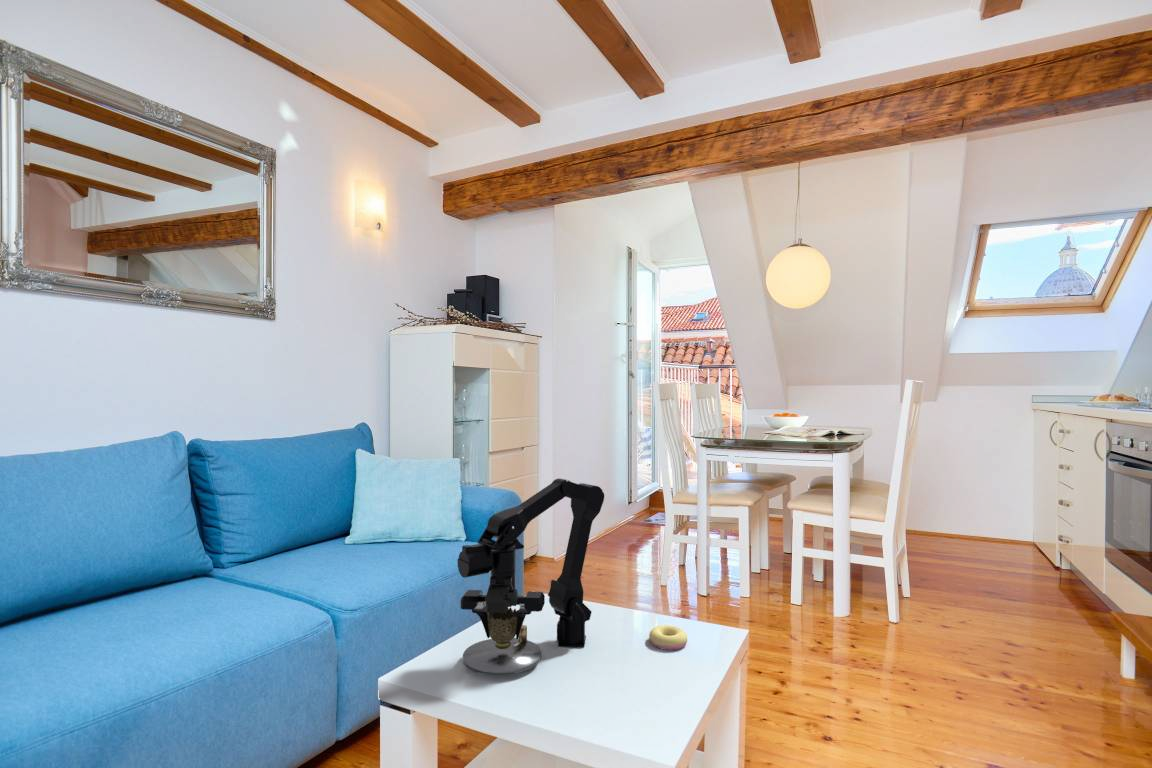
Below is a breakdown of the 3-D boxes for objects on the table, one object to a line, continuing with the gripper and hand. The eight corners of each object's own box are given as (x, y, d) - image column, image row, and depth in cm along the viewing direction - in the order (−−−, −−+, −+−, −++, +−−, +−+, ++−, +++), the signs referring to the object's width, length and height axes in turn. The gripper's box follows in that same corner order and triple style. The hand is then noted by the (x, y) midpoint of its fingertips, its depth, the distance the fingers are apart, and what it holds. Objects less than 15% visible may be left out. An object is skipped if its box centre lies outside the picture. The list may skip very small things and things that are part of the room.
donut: (653, 660, 145) (691, 654, 145) (651, 642, 145) (689, 636, 145) (648, 637, 155) (683, 632, 155) (645, 620, 155) (681, 615, 155)
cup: (513, 655, 134) (513, 619, 134) (481, 652, 135) (482, 616, 136) (522, 642, 141) (523, 607, 141) (492, 639, 143) (493, 605, 143)
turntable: (556, 651, 141) (556, 632, 141) (509, 682, 126) (509, 661, 126) (496, 635, 151) (496, 618, 151) (446, 662, 135) (446, 642, 135)
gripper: (453, 579, 131) (453, 651, 131) (538, 581, 130) (538, 654, 130) (467, 565, 143) (466, 631, 142) (544, 566, 141) (544, 633, 141)
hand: (503, 637), depth 138 cm, fingers closed on cup, 6 cm apart
